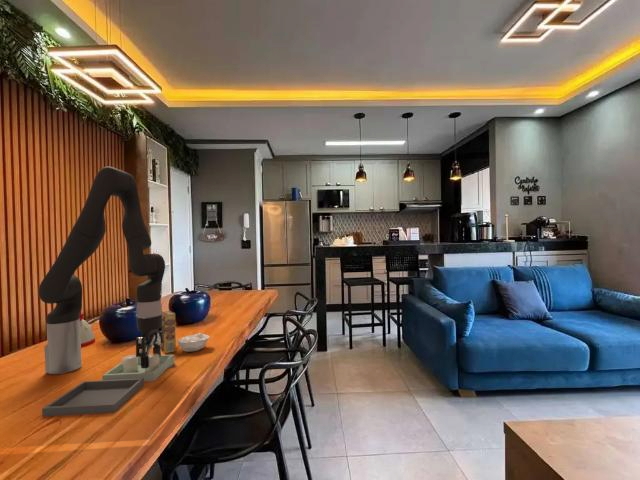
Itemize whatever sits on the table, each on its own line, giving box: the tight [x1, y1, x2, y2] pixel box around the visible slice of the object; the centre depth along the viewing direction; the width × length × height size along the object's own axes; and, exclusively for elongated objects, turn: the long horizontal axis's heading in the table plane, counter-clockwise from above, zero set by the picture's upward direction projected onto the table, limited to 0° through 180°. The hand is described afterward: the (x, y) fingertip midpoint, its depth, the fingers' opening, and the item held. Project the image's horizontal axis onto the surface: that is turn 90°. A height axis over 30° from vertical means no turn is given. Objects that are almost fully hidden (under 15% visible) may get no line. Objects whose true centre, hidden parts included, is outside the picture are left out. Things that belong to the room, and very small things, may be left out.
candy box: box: [160, 310, 177, 354], centre depth 133 cm, size 9×4×15 cm, turn 39°
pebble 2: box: [144, 353, 160, 372], centre depth 109 cm, size 4×4×5 cm
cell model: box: [177, 332, 210, 353], centre depth 131 cm, size 10×12×7 cm
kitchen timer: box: [80, 311, 96, 348], centre depth 144 cm, size 14×14×15 cm
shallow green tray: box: [101, 354, 175, 383], centre depth 109 cm, size 16×16×4 cm
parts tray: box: [41, 378, 145, 417], centre depth 91 cm, size 18×16×3 cm
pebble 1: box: [121, 354, 138, 373], centre depth 109 cm, size 4×4×5 cm
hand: (151, 362), depth 109 cm, fingers open, 8 cm apart
